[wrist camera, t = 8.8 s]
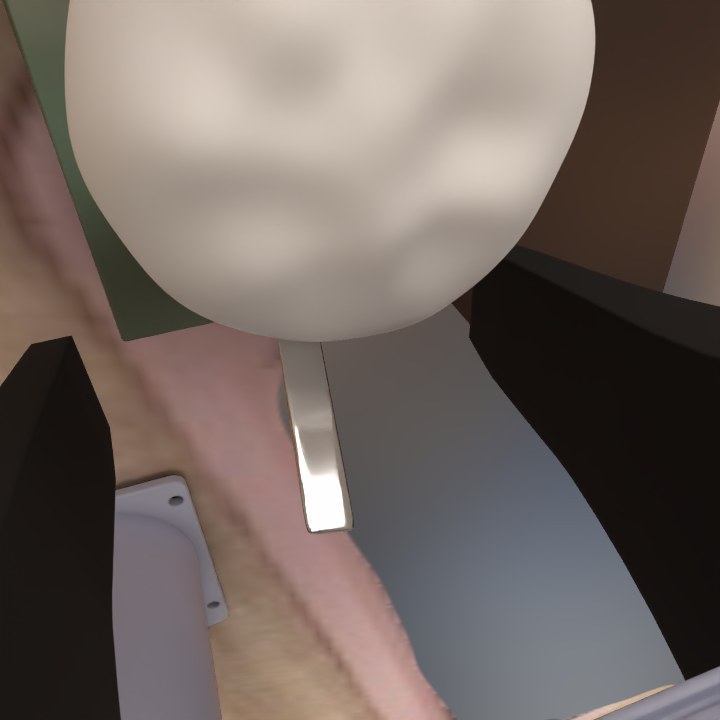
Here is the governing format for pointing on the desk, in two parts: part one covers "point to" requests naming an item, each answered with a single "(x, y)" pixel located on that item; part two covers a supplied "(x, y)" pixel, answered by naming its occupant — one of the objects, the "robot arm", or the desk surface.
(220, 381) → the desk surface
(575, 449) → the robot arm
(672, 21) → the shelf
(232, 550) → the desk surface
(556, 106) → the milkshake
